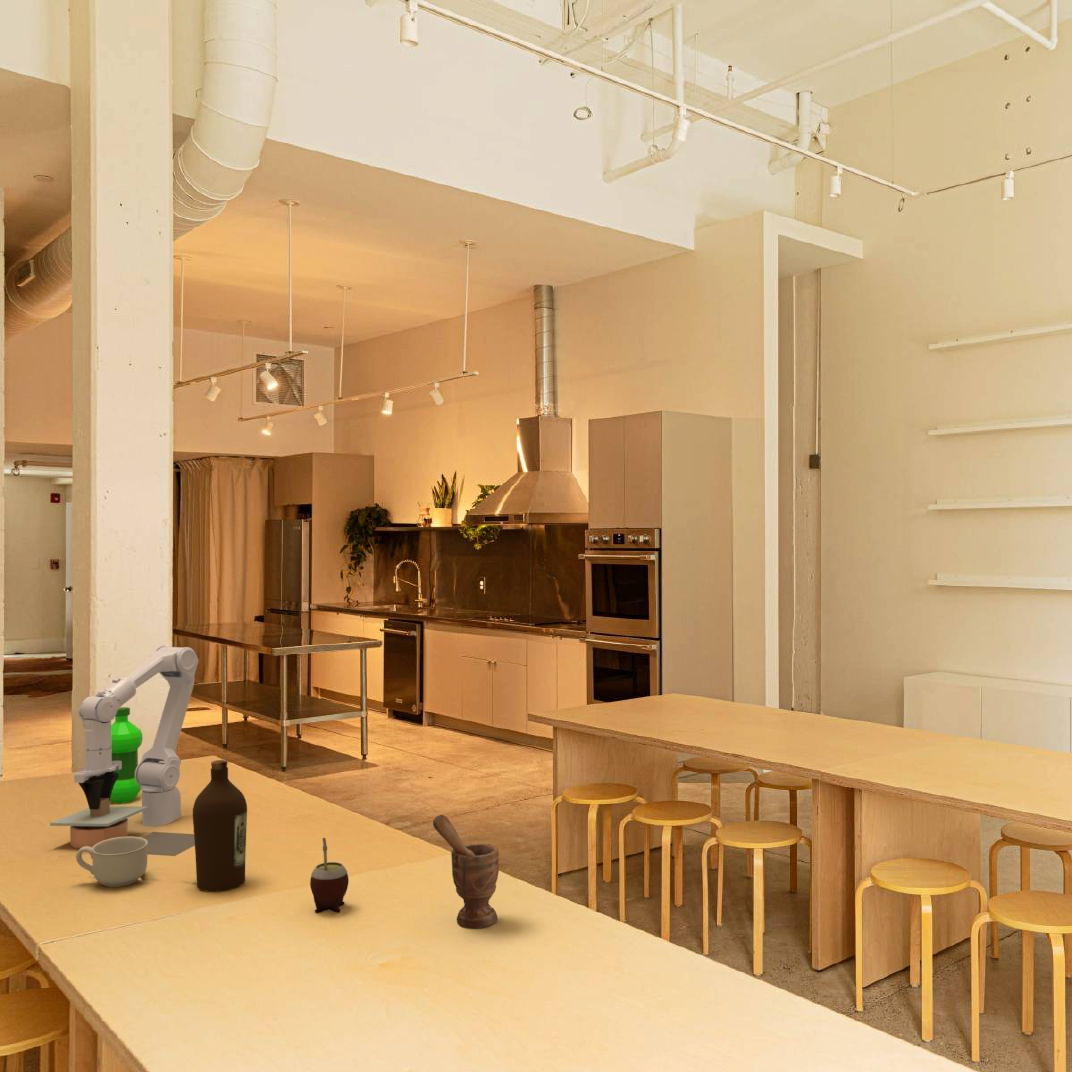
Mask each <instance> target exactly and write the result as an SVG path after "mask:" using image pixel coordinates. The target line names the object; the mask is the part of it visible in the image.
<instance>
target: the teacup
mask: <svg viewBox="0 0 1072 1072" xmlns="http://www.w3.org/2000/svg"><path fill="white" fill-rule="evenodd" d="M141 837H142V836H140V837H139V836H130V835H128V836H126V837H116V838H111V839H107V840H104V841H101V842H99V843H97V844H95V845H94V846H93V847H89V846H85V847H82V848H80V849H79V848H78V849H79V850H77V852H76V855H75V859H76V862H77V864H78V865H79V866H80V867H81V868H82V869H85V870H87V871H89V872H90V874H91V875H93V877H94V879H95V880H96V881H97V882H99V883H101V884H102V885H103V886H105V887H109V888H120V887H125V886H130V885H132V884H134V883H136V882H137V881H138V880H139V879H140V878H142V876H143V875H144V874H145V873H146V871H147V868H148V867H147V866H148V854H147V845H148V841H147V840H146V839H144V838H141ZM84 852H85V853H88V854H89V855H90V858H91V860H92V865H91V864H89V863H87V862H86V861H85V860H84V859H83V857H82V854H83V853H84Z"/></svg>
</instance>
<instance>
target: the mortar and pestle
mask: <svg viewBox="0 0 1072 1072" xmlns="http://www.w3.org/2000/svg"><path fill="white" fill-rule="evenodd" d="M432 825H433V828H434V830H435V831H436V832H437V833H438V834H439V835H440V836H441V837H442V838H443V839H444V840H445V842H447V844H448V845H449V846H450V847H451V848H452V850H451V872H452V873H451V874H452V879H453V884H454V886H455V891H456V893H457V896H458V897H460V898H461V899H462V900H463V903H464V905H463V906H462V908H460V910H459V911H458V914H457V916H456V922H457V925H459V926H460V927H463V928H468V929H478V928H479V929H480V928H486V927H490V926H491V925H493V924H495V923H497V922H498V920H499V918H498V913H497V911H496V910H495V909H494V907H492V905H490V900H491V898H492V896H493V895H494V893H495V892H496V888H497V881H498V878H499V877H498V876H499V871H500V870H499V860H500V859H499V858H500V857H499V856H500V855H499V851H500V850H499V847H498V846H496V845H494V844H491V843H484V842H481V843H467V844H464V842H463V841H462V839H461V837H460V836H459V834H458V833H457V830H456V829H455V827H454V825H453V824H452V822H451V821H450V820H449V818H448V817H447V816H446V815H444V814H439V815H437V816H436V817H435V818H434V819H433V820H432Z"/></svg>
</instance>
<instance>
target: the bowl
mask: <svg viewBox="0 0 1072 1072" xmlns="http://www.w3.org/2000/svg"><path fill="white" fill-rule="evenodd" d="M128 819H129V818H126V819H124V820H122V821H119V822H117V823H115V824H112V825H110V826H69V828H70V835H69V836H70V841H69V842H70V846H71V847H73V848H74V849H80V848H82V847H85V846H89V847H93V846H94V845H95V844H97V843H99V842H101V841H104V840H107V839H111V838H116V837H126V836H129V821H128Z"/></svg>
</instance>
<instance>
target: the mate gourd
mask: <svg viewBox="0 0 1072 1072" xmlns="http://www.w3.org/2000/svg"><path fill="white" fill-rule="evenodd" d="M322 844H323V845H322V852H323V863H319V864H317V865H316V866H315V867H314V869H312V872H311V875H310V878H309V879H310V881H309V884H310V885H309V886H310V890H311V894H312V895H313V900H314V905H315V908H316V909H315V910H314V912H315V914H319V913H323V912H326V911H332V912H333V913H336V914H339V913H341V911H342V909H340V907H343V906H345V901H344V897H345V895H346V894H347V891H348V888H349V874H348V870H347V869H346V867H345V866H344V864H342V863H341V862H335V861H331V862H330V861H329V862H328V853H327V852H328V845H327V839H326V837H322Z"/></svg>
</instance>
